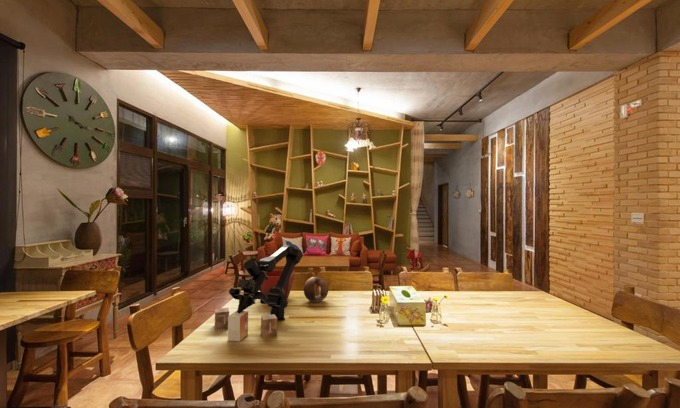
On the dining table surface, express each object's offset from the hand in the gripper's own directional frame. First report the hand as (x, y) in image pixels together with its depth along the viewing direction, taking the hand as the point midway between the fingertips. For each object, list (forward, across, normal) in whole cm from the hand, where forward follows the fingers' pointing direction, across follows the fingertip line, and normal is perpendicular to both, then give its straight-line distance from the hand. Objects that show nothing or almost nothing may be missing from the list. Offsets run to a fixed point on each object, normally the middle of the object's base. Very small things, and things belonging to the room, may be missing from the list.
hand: (238, 312), depth 143 cm
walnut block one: (+1, +9, +14) cm, 17 cm away
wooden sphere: (-39, +2, +53) cm, 66 cm away
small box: (+8, 0, +8) cm, 11 cm away
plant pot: (-32, -20, +46) cm, 60 cm away
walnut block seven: (+3, -16, +12) cm, 21 cm away
